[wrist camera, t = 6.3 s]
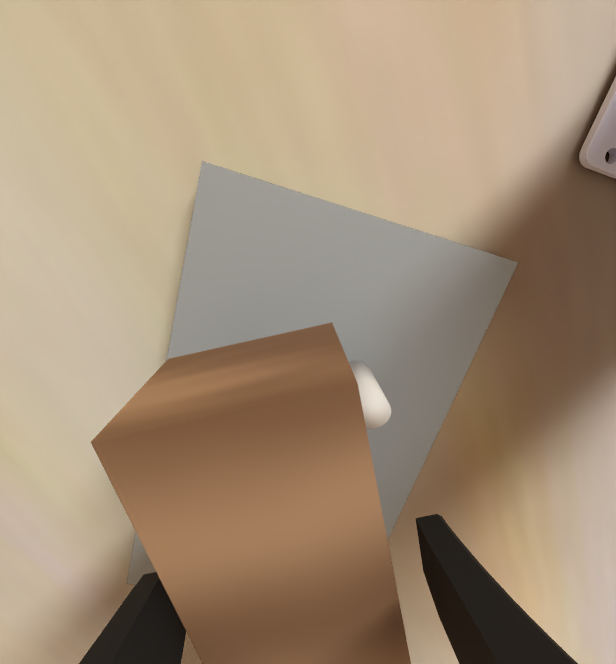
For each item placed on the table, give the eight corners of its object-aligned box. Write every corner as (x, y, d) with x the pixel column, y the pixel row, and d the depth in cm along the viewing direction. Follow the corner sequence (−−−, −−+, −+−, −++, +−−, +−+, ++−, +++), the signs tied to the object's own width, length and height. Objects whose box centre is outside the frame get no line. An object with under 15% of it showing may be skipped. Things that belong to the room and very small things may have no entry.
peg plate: (499, 259, 14) (585, 272, 10) (347, 594, 19) (362, 690, 15) (210, 167, 12) (170, 138, 8) (137, 560, 18) (92, 658, 14)
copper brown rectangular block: (388, 597, 13) (426, 744, 10) (268, 621, 14) (259, 776, 10) (332, 322, 10) (357, 384, 6) (168, 359, 10) (90, 442, 6)
